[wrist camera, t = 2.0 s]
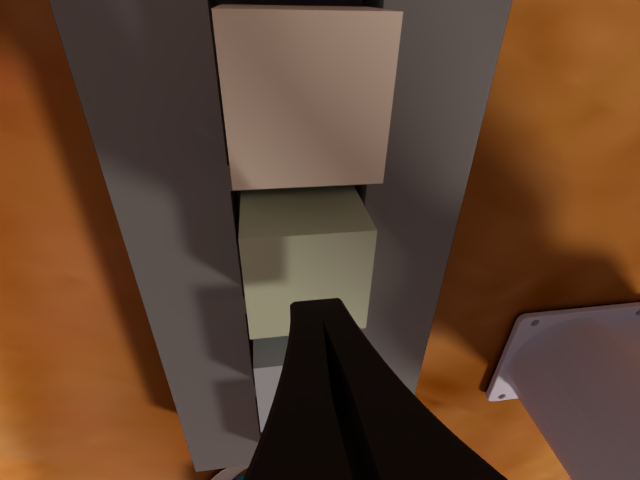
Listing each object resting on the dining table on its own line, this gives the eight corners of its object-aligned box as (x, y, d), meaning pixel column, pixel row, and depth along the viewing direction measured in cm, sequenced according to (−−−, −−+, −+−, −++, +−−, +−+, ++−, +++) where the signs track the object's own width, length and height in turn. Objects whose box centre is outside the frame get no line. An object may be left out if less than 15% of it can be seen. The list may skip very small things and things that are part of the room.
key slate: (344, 299, 17) (362, 356, 14) (340, 359, 19) (355, 419, 16) (253, 307, 16) (253, 368, 14) (259, 368, 18) (260, 432, 16)
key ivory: (366, 6, 11) (403, 11, 8) (356, 143, 13) (382, 183, 10) (222, 3, 10) (211, 8, 8) (236, 147, 12) (232, 190, 10)
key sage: (353, 184, 14) (377, 230, 11) (346, 271, 16) (366, 328, 13) (240, 189, 13) (238, 239, 11) (250, 279, 15) (249, 339, 13)
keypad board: (473, -58, 12) (529, -70, 10) (387, 398, 25) (402, 442, 23) (73, -75, 11) (19, -95, 8) (201, 421, 24) (195, 472, 21)
